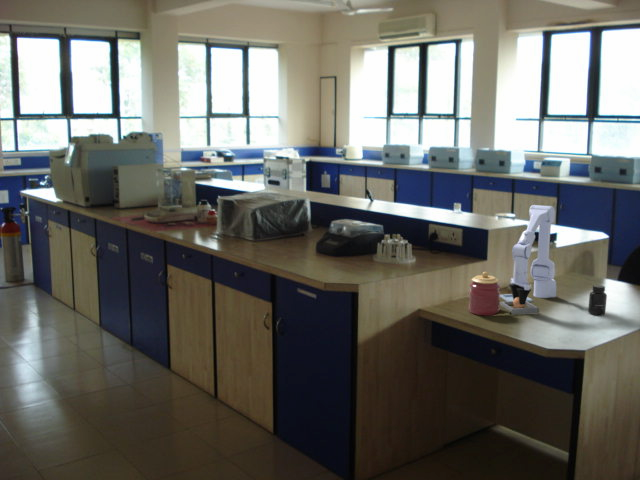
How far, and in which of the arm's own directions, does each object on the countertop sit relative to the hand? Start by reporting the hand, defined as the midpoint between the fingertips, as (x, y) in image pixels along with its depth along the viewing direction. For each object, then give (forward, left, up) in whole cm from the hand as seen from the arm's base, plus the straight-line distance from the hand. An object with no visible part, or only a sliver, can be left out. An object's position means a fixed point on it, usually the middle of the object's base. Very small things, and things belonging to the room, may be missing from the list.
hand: (519, 302), depth 293 cm
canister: (+16, 0, -4) cm, 16 cm away
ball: (0, 0, -3) cm, 3 cm away
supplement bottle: (-30, +11, -4) cm, 32 cm away
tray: (0, 0, -3) cm, 3 cm away
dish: (-5, -14, -3) cm, 15 cm away
